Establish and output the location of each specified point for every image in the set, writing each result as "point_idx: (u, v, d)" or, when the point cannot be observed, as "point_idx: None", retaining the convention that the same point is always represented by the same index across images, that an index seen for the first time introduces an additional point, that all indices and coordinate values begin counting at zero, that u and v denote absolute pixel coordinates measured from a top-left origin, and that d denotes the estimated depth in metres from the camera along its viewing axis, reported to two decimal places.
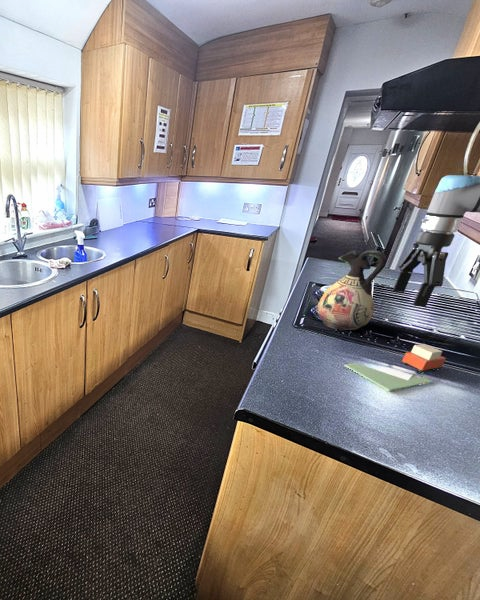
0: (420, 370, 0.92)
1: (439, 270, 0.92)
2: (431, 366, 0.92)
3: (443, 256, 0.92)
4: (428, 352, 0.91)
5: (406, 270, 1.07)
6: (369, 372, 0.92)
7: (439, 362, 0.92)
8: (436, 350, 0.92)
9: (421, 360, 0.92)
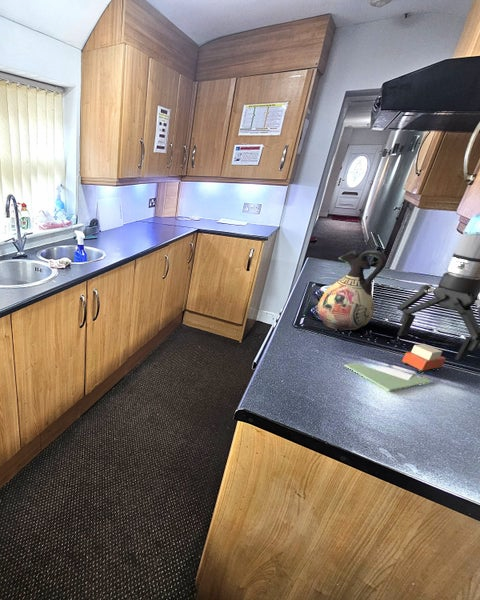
0: (420, 370, 0.92)
1: None
2: (431, 366, 0.92)
3: None
4: (428, 352, 0.91)
5: (410, 312, 0.96)
6: (369, 372, 0.92)
7: (439, 362, 0.92)
8: (436, 350, 0.92)
9: (421, 360, 0.92)
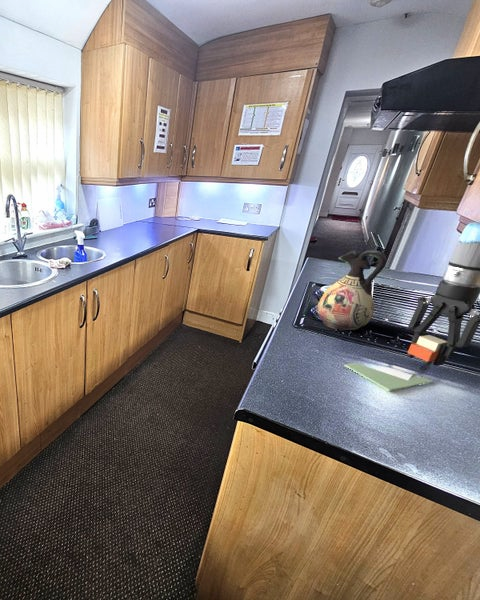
0: (426, 361, 0.91)
1: (472, 333, 0.84)
2: None
3: None
4: (434, 343, 0.90)
5: (422, 332, 0.94)
6: (369, 372, 0.92)
7: None
8: (442, 341, 0.90)
9: (427, 351, 0.90)
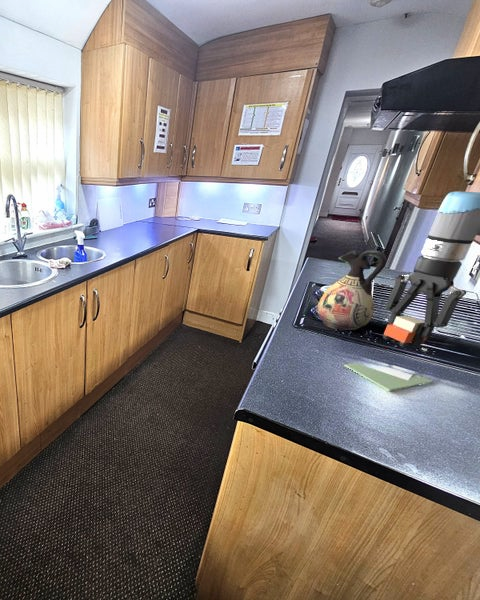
0: (402, 343, 0.85)
1: (450, 311, 0.79)
2: None
3: (461, 296, 0.77)
4: (411, 323, 0.84)
5: (399, 312, 0.89)
6: (369, 372, 0.92)
7: None
8: (420, 321, 0.85)
9: (403, 332, 0.85)
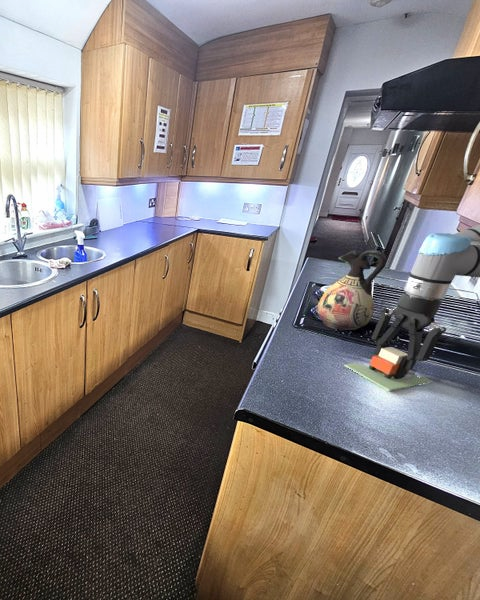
0: (387, 374, 0.89)
1: (431, 346, 0.82)
2: None
3: (441, 333, 0.80)
4: (395, 356, 0.88)
5: (384, 343, 0.92)
6: (369, 372, 0.92)
7: None
8: (403, 354, 0.88)
9: (388, 364, 0.88)
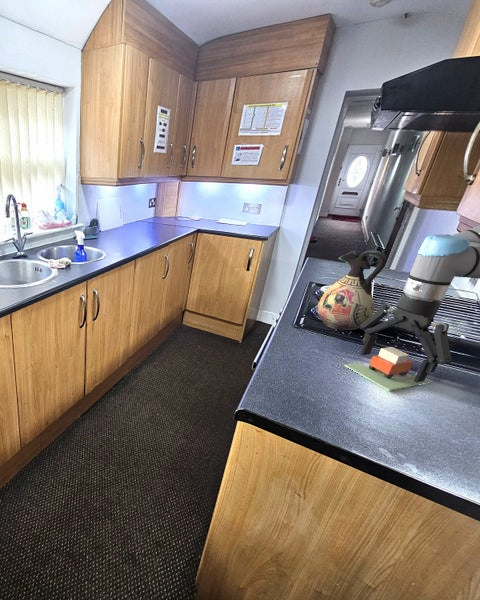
0: (386, 374, 0.89)
1: (445, 346, 0.80)
2: (398, 370, 0.89)
3: (446, 329, 0.80)
4: (395, 356, 0.88)
5: (372, 332, 0.95)
6: (369, 372, 0.92)
7: (407, 366, 0.89)
8: (403, 353, 0.88)
9: (387, 364, 0.88)
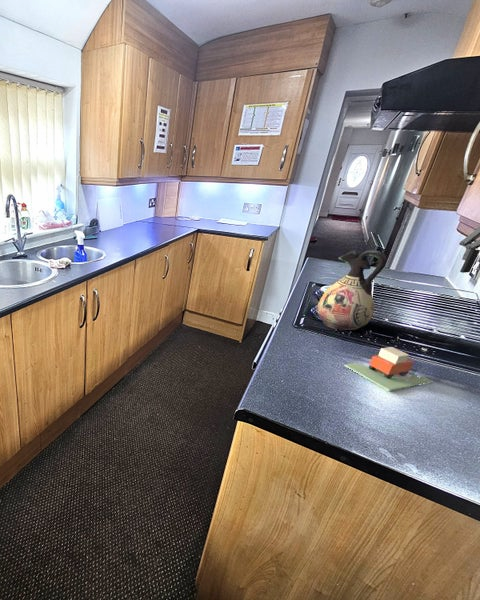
0: (386, 374, 0.89)
1: None
2: (398, 370, 0.89)
3: None
4: (395, 356, 0.88)
5: (475, 247, 0.92)
6: (369, 372, 0.92)
7: (407, 366, 0.89)
8: (403, 353, 0.88)
9: (387, 364, 0.88)
